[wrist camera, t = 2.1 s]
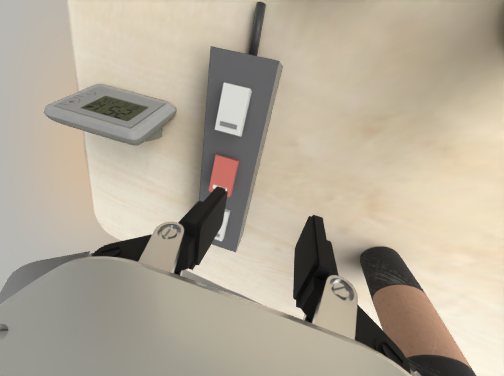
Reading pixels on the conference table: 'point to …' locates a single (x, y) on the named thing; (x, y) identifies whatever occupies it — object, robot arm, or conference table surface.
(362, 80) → the conference table surface
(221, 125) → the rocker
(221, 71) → the power strip
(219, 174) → the rocker middle
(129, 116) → the digital clock
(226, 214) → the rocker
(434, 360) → the travel mug
